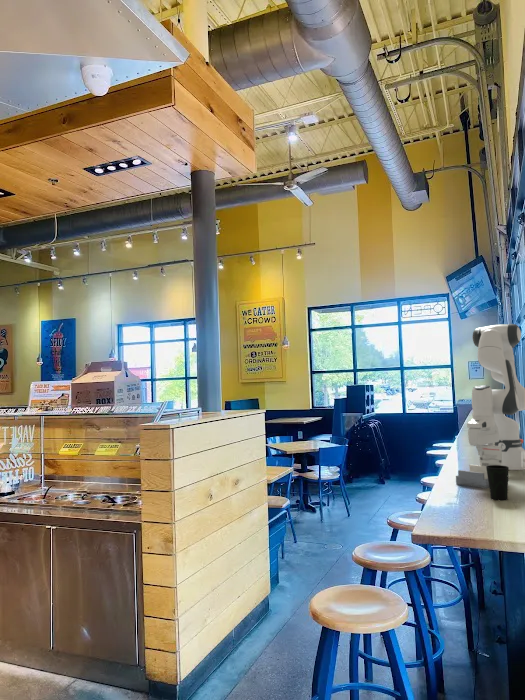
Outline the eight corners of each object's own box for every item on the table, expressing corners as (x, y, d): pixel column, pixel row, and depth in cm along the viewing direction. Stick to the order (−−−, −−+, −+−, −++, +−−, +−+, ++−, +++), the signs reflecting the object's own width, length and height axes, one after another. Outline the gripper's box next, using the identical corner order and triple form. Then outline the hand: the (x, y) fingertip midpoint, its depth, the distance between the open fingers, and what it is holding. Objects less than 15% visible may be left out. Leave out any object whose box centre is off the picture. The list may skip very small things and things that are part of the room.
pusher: (471, 480, 224) (470, 464, 225) (494, 483, 216) (493, 467, 217) (466, 482, 221) (465, 465, 222) (489, 485, 213) (488, 468, 214)
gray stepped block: (475, 478, 229) (474, 465, 230) (505, 482, 219) (504, 468, 219) (456, 484, 219) (455, 470, 220) (486, 488, 209) (485, 473, 209)
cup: (513, 501, 186) (511, 468, 187) (490, 501, 188) (488, 468, 188) (507, 497, 194) (505, 465, 194) (485, 496, 195) (484, 465, 196)
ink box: (500, 472, 223) (500, 445, 223) (501, 474, 218) (501, 446, 219) (479, 470, 226) (479, 444, 226) (479, 472, 221) (480, 445, 222)
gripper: (488, 420, 233) (490, 451, 232) (464, 423, 220) (466, 456, 219) (502, 421, 228) (504, 452, 227) (478, 424, 215) (480, 457, 214)
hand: (485, 454), depth 223 cm, fingers closed on ink box, 6 cm apart
